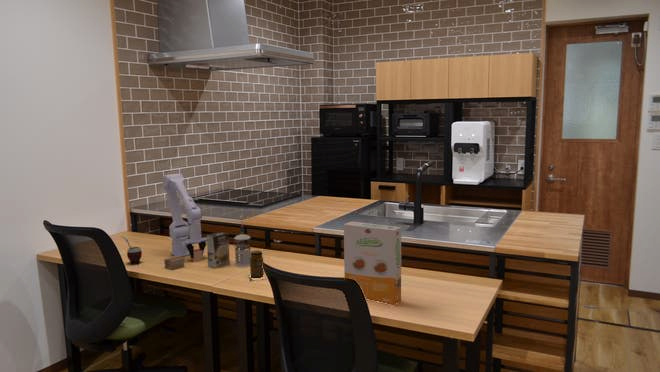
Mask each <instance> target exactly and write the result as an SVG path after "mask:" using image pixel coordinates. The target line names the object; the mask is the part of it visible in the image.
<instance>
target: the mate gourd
mask: <svg viewBox="0 0 660 372" xmlns="http://www.w3.org/2000/svg"><path fill="white" fill-rule="evenodd" d="M121 238H122V239H124V240H125V242H127V244H128V247H129V248H128V249H127V252H126V253H127V254H126V256H127V259H128V260H129V263H130V264H129V265H131V266H133V265H135V264H137V265H140V264H141V259H142V255H143V252H142V249H141V248H140V246H131V245H130V241H129V240H128V238H126V237H125V236H123V235H122V236H121Z"/></svg>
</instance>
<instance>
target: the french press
mask: <svg viewBox="0 0 660 372" xmlns="http://www.w3.org/2000/svg"><path fill="white" fill-rule="evenodd" d="M243 218H244V216H243V215H239V219H241V221H240V222H241V226H243ZM233 239H234V242H236V243H237V244H235V247H234V251H235V252H234V253H235V255H234V256H235V262H234V263H233V266H234V267H237V268H246V267H250V258H251V252H252V249H251V248H252V247H250V244H249V243H243V241H247V240H248V241H249V240H251V236H250V235H248V234H244V233H240V234H238V235H236V236H234V238H233ZM240 242H241V243H240Z"/></svg>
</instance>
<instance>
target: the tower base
mask: <svg viewBox="0 0 660 372" xmlns="http://www.w3.org/2000/svg"><path fill="white" fill-rule="evenodd" d="M164 268H166V269H168V270H170V271H173V270H178V269H183V268H185V263H183V264H179V265H175V266H170V265H167V264H165V263H164Z"/></svg>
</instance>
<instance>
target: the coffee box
mask: <svg viewBox="0 0 660 372" xmlns="http://www.w3.org/2000/svg"><path fill="white" fill-rule="evenodd" d="M229 235H230V234H229V233H228V232H226V231H225V232H224V231H219V232H214V233H210V234H206V237H207V242H206V246H207V247H206V248H207V249H206V251H207V267H209V268H210V267H211V268H213V269H218V268H221V267H224V266H228V265H230V264H231V263H230V261H231V260H230V238H229V237H230V236H229Z"/></svg>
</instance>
